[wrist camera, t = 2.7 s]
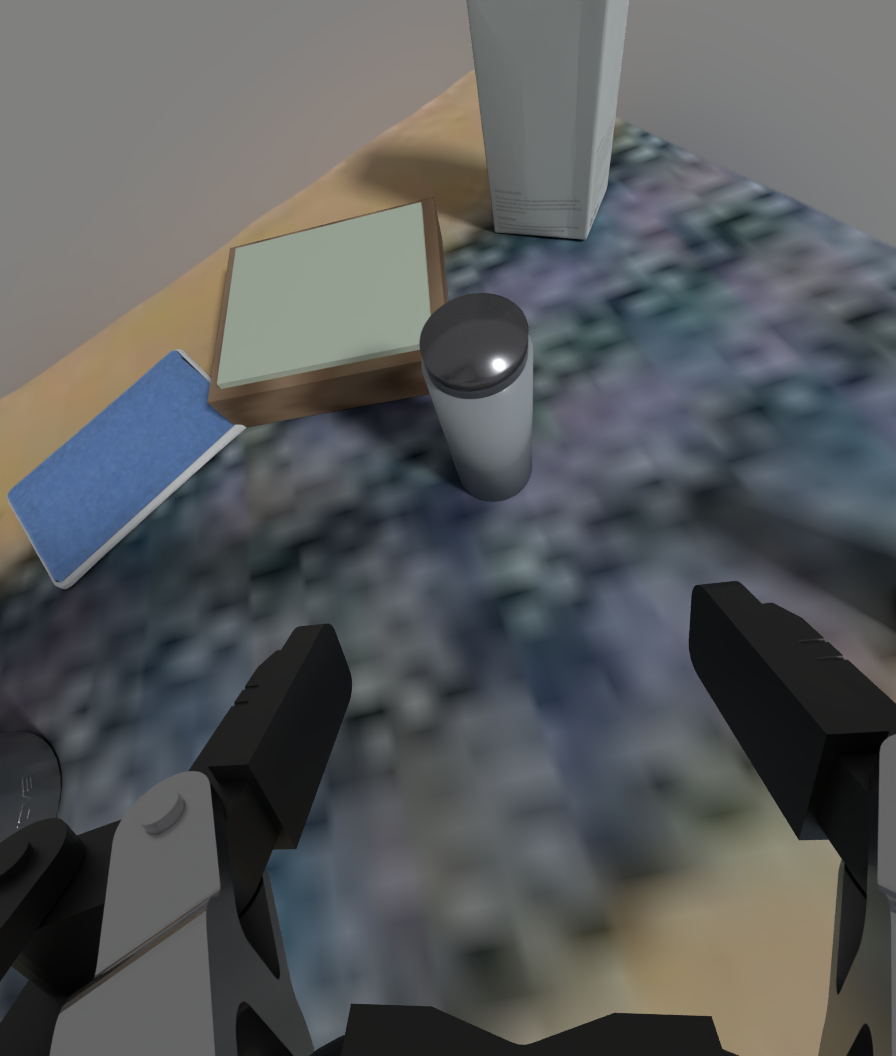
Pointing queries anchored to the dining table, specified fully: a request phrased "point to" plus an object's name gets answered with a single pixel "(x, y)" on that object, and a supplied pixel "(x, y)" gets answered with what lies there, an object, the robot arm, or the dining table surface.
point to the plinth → (328, 316)
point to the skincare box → (547, 108)
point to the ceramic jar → (482, 391)
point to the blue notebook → (120, 467)
